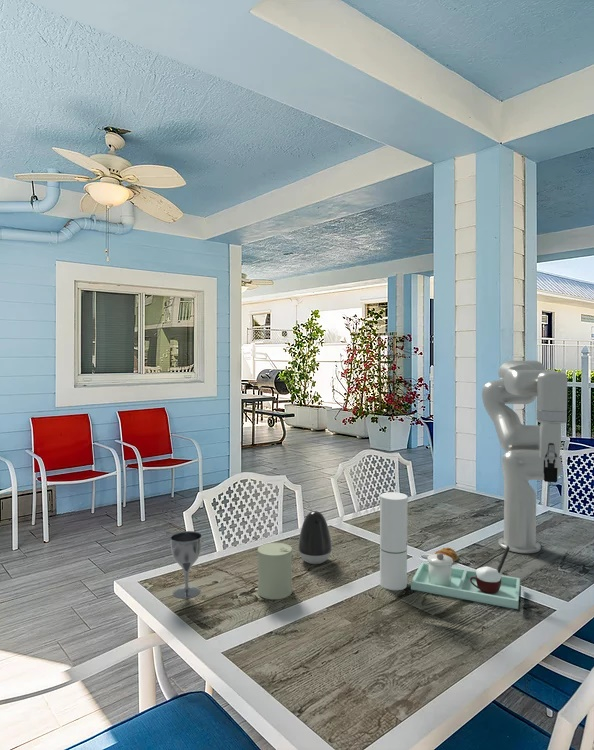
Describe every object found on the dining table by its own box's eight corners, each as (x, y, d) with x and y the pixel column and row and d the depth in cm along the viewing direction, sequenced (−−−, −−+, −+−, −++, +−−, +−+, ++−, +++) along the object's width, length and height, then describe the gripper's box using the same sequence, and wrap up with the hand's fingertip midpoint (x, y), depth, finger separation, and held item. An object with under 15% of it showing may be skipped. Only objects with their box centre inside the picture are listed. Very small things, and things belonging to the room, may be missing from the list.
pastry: (446, 571, 152) (446, 558, 152) (425, 565, 156) (425, 553, 156) (460, 562, 159) (460, 549, 159) (439, 556, 163) (439, 544, 163)
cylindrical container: (408, 584, 143) (409, 493, 142) (404, 595, 136) (405, 500, 135) (382, 580, 146) (382, 491, 144) (377, 591, 139) (378, 498, 138)
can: (284, 602, 133) (284, 555, 132) (251, 596, 136) (251, 550, 136) (297, 586, 142) (297, 543, 141) (265, 581, 145) (265, 538, 144)
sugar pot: (429, 575, 146) (430, 547, 146) (454, 580, 143) (454, 550, 143) (425, 585, 140) (425, 555, 140) (450, 590, 137) (451, 559, 137)
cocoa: (469, 592, 137) (467, 547, 136) (475, 582, 142) (473, 539, 141) (507, 600, 132) (505, 553, 131) (512, 590, 137) (510, 545, 136)
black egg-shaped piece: (302, 569, 153) (302, 518, 152) (295, 555, 163) (295, 507, 162) (336, 566, 155) (336, 515, 154) (326, 553, 165) (326, 505, 164)
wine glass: (175, 601, 133) (175, 543, 132) (168, 589, 140) (167, 534, 140) (206, 595, 137) (205, 538, 136) (197, 583, 144) (196, 529, 143)
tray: (421, 572, 151) (421, 562, 151) (519, 589, 140) (519, 578, 140) (410, 592, 138) (411, 581, 138) (518, 613, 127) (518, 601, 127)
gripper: (536, 412, 154) (535, 470, 155) (536, 419, 139) (535, 483, 139) (565, 413, 151) (563, 472, 152) (568, 421, 136) (566, 486, 136)
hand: (550, 477), depth 146 cm, fingers open, 9 cm apart
